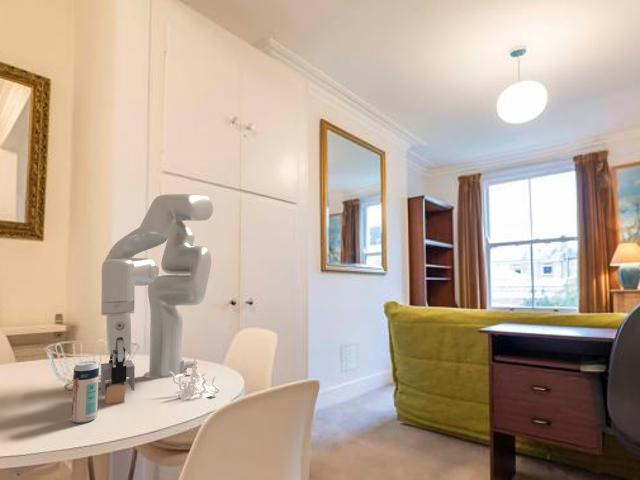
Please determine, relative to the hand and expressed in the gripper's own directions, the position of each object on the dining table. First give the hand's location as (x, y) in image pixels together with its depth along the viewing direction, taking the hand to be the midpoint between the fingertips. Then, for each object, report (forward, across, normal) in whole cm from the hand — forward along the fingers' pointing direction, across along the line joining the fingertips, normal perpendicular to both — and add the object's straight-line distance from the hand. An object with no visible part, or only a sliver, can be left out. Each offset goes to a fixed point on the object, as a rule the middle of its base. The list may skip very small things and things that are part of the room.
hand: (117, 378), depth 102 cm
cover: (+3, 0, 0) cm, 3 cm away
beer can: (+5, -12, +7) cm, 15 cm away
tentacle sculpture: (+6, -6, -18) cm, 19 cm away
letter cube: (+5, -1, +1) cm, 5 cm away
